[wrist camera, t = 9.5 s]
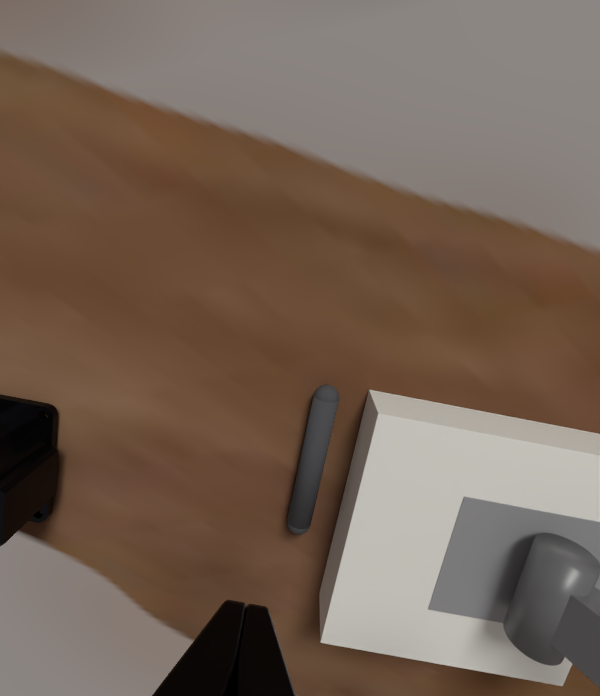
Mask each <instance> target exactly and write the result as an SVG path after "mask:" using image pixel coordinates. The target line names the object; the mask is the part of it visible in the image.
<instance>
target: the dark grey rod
mask: <svg viewBox="0 0 600 696" xmlns="http://www.w3.org/2000/svg"><path fill="white" fill-rule="evenodd" d="M338 401H339V394H338V392H337V390H336V389H335V388H334V387H332V386H330V385H322V386H320V387H319V388H317V389H316V391H315V393H314V396H313V401H312V406H311V410H310V415H309V420H308V424H307V429H306V434H305V439H304V443H303V448H302V453H301V457H300V462H299V467H298V472H297V476H296V481H295V486H294V490H293V495H292V500H291V505H290V509H289V514H288V519H287V525H288V528H289V529H290V531H291V532H293V533H295V534H303V533H305V532H306V531H307V530H308V529H309V527H310V524H311V520H312V516H313V511H314V507H315V502H316V498H317V494H318V489H319V485H320V480H321V476H322V472H323V467H324V463H325V459H326V454H327V450H328V445H329V441H330V437H331V432H332V428H333V423H334V419H335V415H336V410H337V406H338Z"/></svg>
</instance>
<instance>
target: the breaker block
mask: <svg viewBox="0 0 600 696" xmlns="http://www.w3.org/2000/svg"><path fill="white" fill-rule="evenodd" d="M539 533H552V534H556V535H560V536H562V537H565V538H567V539H570V540H572V541H574V542H575V543H577V544H579V545H580V546H582V547H584V548H585V549H586V550H588V551H589V552H590V553H591V554H592V555H593V556H594V557H595V558H596V559H597V560H598V561H599V563H600V434H598V433H592V432H587V431H582V430H577V429H572V428H566V427H561V426H556V425H551V424H546V423H540V422H535V421H530V420H525V419H520V418H514V417H509V416H504V415H499V414H493V413H488V412H483V411H478V410H473V409H467V408H462V407H457V406H452V405H447V404H441V403H436V402H431V401H426V400H421V399H415V398H410V397H405V396H400V395H395V394H389V393H384V392H379V391H374V390H369V391H368V396H367V400H366V404H365V408H364V412H363V416H362V420H361V424H360V428H359V432H358V437H357V441H356V445H355V449H354V453H353V457H352V461H351V465H350V469H349V474H348V478H347V482H346V486H345V490H344V494H343V498H342V502H341V506H340V510H339V515H338V519H337V523H336V527H335V531H334V535H333V539H332V543H331V547H330V551H329V556H328V560H327V564H326V568H325V572H324V576H323V580H322V584H321V588H320V592H319V604H320V643H325V644H330V645H336V646H342V647H347V648H353V649H358V650H364V651H369V652H375V653H381V654H386V655H392V656H397V657H403V658H408V659H414V660H420V661H425V662H431V663H436V664H442V665H448V666H453V667H459V668H464V669H470V670H475V671H481V672H487V673H492V674H498V675H503V676H509V677H515V678H520V679H526V680H531V681H537V682H542V683H548V684H554V685H559V686H563V684H564V682H565V679H566V677H567V675H568V672H569V670H570V668H571V665H572V663H571V662H570V661H569V660H568V659H567V658H564V660H563V662H562V663H561V664H559V665H556V666H550V665H545V664H541V663H539V662H536V661H534V660H532V659H531V658H529V657H527V656H526V655H525V654H523V653H522V652H521V651H519V650H518V649H517V648H516V647H515V646H514V645H513V644H512V642H511V641H510V640H509V638H508V637H507V635H506V633H505V631H504V627H503V622H504V619H505V616H506V613H507V611H508V608H509V605H510V603H511V600H512V597H513V595H514V592H515V589H516V587H517V584H518V581H519V579H520V576H521V573H522V571H523V568H524V565H525V563H526V560H527V557H528V555H529V552H530V549H531V546H532V544H533V541H534V538H535V536H536V535H537V534H539ZM595 587H596V588H597V589H599V590H600V575H599V578H598V580H597V582H596V585H595Z"/></svg>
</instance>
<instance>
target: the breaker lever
mask: <svg viewBox="0 0 600 696" xmlns="http://www.w3.org/2000/svg"><path fill="white" fill-rule="evenodd" d="M599 575H600V563H599V561H598V560H597V559H596V558H595V557H594V556H593V555H592V554H591V553H590V552H589V551H588V550H586V549H585V548H584V547H582V546H580V545H579V544H577V543H575V542H574V541H572V540H570V539H567V538H565V537H562V536H560V535H556V534H552V533H539V534H537V535H536V536H535V538H534V541H533V544H532V546H531V549H530V552H529V555H528V557H527V560H526V563H525V565H524V568H523V571H522V573H521V576H520V579H519V581H518V584H517V587H516V589H515V592H514V595H513V597H512V600H511V603H510V605H509V608H508V611H507V613H506V616H505V619H504V622H503V627H504V631H505V633H506V635H507V637H508V638H509V640H510V641H511V642H512V644H513V645H514V646H515V647H516V648H517V649H518V650H519V651H521V652H522V653H523V654H525V655H526V656H527V657H529V658H531V659H532V660H534V661H536V662H539V663H541V664H545V665H550V666H556V665H559V664H561V663H562V662H563V660H564V658H567V659H568V660H569V661H570V662H571V663H572V664H573V665H574V666H576V667H577V668H578V669H579V670H580V671H581V672H582V673H583V674H585V675H586V676H587V677H588V678H589V679H590V680H591V681H593V682H594V683H595V684H596V685H597V686H598V687H599V688H600V590H599V589H597V588H596V587H595V585H596V582H597V580H598V578H599Z"/></svg>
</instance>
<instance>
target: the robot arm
mask: <svg viewBox="0 0 600 696" xmlns="http://www.w3.org/2000/svg"><path fill="white" fill-rule="evenodd" d="M43 411H44V412H46V413H47V414H48V418H47V417H45V416H44V415H43ZM57 420H58V413H57V410H56V408H55V407H54V406H53V405H51V404H48V403H42V402H37V401H32V400H26V399H21V398H16V397H10V396H5V395H0V546H1V545H3V544H4V543H6V542H7V541H8V540H9V539H10V538H11V537H12V536H13V535H14V534H15V533H16V532H17V531H18V530H19V529H20V528H21V527H22V526H23V525H24V524H25V523H26V522H27V521H32V522H43V521H45V520H46V519H47V518H48V517H49V516H50V515H51V512H52V500H53V496H54V495H55V493H56V483H57V468H58V450H57V447H56V436H57ZM38 510H40V511H41V512H42V513H39V511H38ZM152 696H296V695H295V692H294V689H293V686H292V682H291V679H290V676H289V673H288V669H287V666H286V663H285V660H284V657H283V653H282V650H281V647H280V644H279V641H278V637H277V634H276V631H275V628H274V625H273V621H272V618H271V615H270V612H269V610H268V608H267V607H265V606H260V605H254V604H249V605H247V607H246V604H245V603H243V602H238V601H232V600H226V601H225V602H224V603H223V604H222V605H221V607H220V608H219V609H218V610H217V612H216V613H215V614H214V616H213V617H212V618H211V620H210V621H209V622H208V623H207V625H206V626H205V627H204V629H203V630H202V631H201V633H200V634H199V635H198V637H197V638H196V639H195V640H194V642H193V643H192V644H191V646H190V647H189V648H188V650H187V651H186V652H185V653H184V655H183V656H182V657H181V659H180V660H179V661H178V663H177V664H176V665H175V667H174V668H173V669H172V671H171V672H170V673H169V674H168V676H167V677H166V678H165V680H164V681H163V682H162V684H161V685H160V686H159V687H158V689H157V690H156V691H155V693H154V694H153V695H152Z"/></svg>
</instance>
